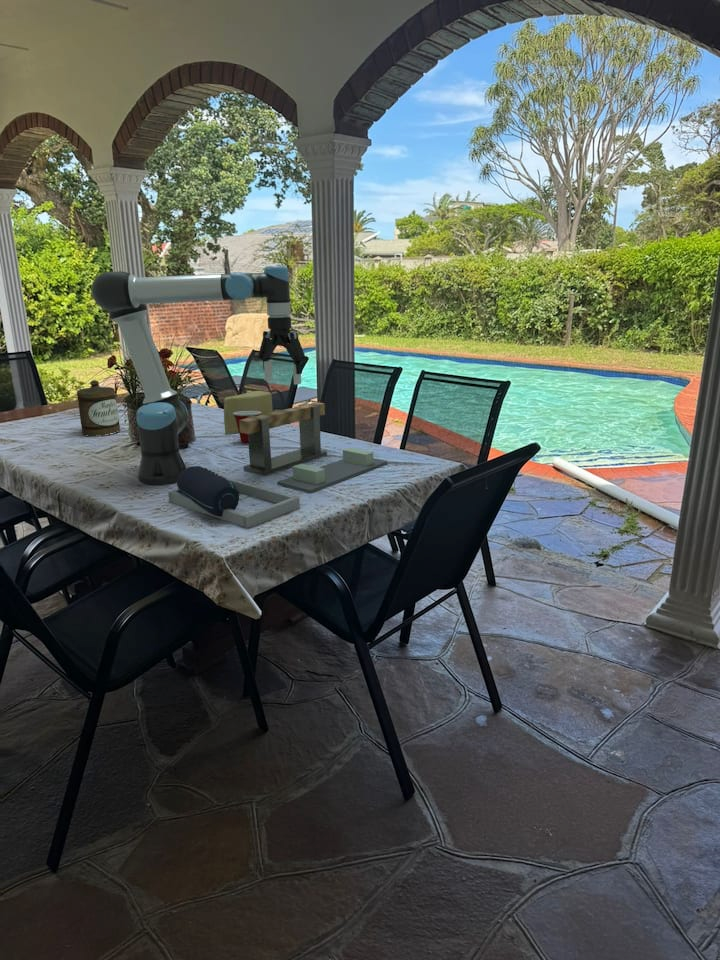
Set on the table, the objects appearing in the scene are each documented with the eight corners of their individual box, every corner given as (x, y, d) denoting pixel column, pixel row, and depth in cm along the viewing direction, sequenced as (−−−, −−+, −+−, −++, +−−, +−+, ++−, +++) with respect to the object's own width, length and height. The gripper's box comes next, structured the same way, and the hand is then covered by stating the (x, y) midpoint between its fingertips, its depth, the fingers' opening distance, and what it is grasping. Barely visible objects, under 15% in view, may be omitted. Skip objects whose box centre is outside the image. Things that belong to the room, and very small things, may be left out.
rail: (248, 434, 202) (247, 421, 201) (240, 432, 205) (239, 420, 203) (324, 414, 229) (324, 403, 227) (316, 413, 231) (316, 402, 230)
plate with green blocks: (310, 493, 189) (309, 477, 188) (277, 484, 198) (276, 469, 196) (387, 464, 217) (387, 449, 216) (355, 457, 226) (355, 443, 224)
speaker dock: (247, 528, 164) (247, 517, 163) (169, 501, 185) (168, 491, 184) (299, 507, 178) (299, 497, 177) (221, 484, 199) (220, 475, 198)
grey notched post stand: (264, 475, 207) (261, 421, 201) (244, 470, 213) (240, 417, 207) (326, 455, 229) (325, 405, 223) (306, 451, 235) (304, 402, 229)
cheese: (233, 436, 259) (230, 399, 255) (218, 432, 265) (215, 397, 261) (274, 426, 275) (272, 391, 271) (259, 423, 281) (257, 389, 277)
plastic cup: (266, 438, 254) (264, 408, 251) (259, 445, 244) (257, 414, 240) (239, 438, 255) (237, 408, 252) (231, 445, 245) (229, 414, 241)
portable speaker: (246, 515, 173) (243, 480, 170) (212, 524, 167) (208, 487, 164) (207, 492, 192) (204, 460, 189) (175, 499, 186) (171, 466, 183)
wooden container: (98, 438, 259) (90, 384, 252) (75, 434, 266) (66, 381, 260) (128, 431, 271) (121, 379, 264) (105, 427, 278) (98, 376, 272)
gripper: (315, 316, 201) (318, 383, 208) (261, 314, 216) (265, 377, 223) (298, 318, 196) (302, 387, 202) (244, 316, 211) (249, 380, 217)
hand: (283, 382), depth 212 cm, fingers open, 13 cm apart
